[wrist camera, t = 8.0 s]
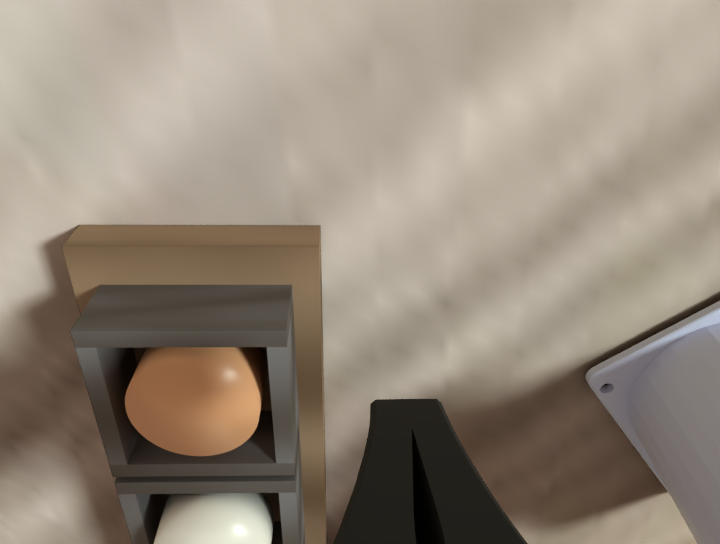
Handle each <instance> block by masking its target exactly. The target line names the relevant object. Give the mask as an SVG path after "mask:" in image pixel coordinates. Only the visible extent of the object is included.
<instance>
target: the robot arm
mask: <svg viewBox="0 0 720 544" xmlns="http://www.w3.org/2000/svg"><path fill="white" fill-rule="evenodd" d="M585 378H586V380H587V382H588V384H589V386H590V388H591V389H592V390H593V392H594V393H595V394H596V396H597V397H598V398H599V400H600V401H601V402H602V404H603V405H604V406H605V408H606V409H607V411H608V412H609V413H610V415H611V416H612V417H613V419H614V420H615V421H616V423H617V424H618V425H619V427H620V428H621V429H622V431H623V432H624V433H625V435H626V436H627V437H628V439H629V440H630V442H631V443H632V444H633V446H634V447H635V448H636V450H637V451H638V452H639V454H640V455H641V456H642V458H643V459H644V460H645V462H646V463H647V464H648V466H649V467H650V468H651V470H652V471H653V473H654V474H655V475H656V477H657V478H658V479H659V481H660V482H661V483H662V485H663V486H664V487H665V489H666V490H667V491H668V493H669V494H670V495H671V497H672V499H673V500H674V502H675V504H676V506H677V508H678V509H679V511H680V513H681V515H682V517H683V518H684V520H685V522H686V524H687V526H688V527H689V529H690V531H691V533H692V535H693V536H694V538H695V540H696V542H697V544H720V301H718V302H716V303H714V304H712V305H710V306H708V307H707V308H705V309H703V310H701V311H699V312H697V313H695V314H693V315H691V316H689V317H687V318H686V319H684V320H682V321H680V322H678V323H676V324H674V325H672V326H670V327H668V328H667V329H665V330H663V331H661V332H659V333H657V334H655V335H653V336H651V337H649V338H647V339H646V340H644V341H642V342H640V343H638V344H636V345H634V346H632V347H630V348H628V349H626V350H625V351H623V352H621V353H619V354H617V355H615V356H613V357H611V358H609V359H607V360H605V361H604V362H602V363H600V364H598V365H596V366H594V367H592V368H591V369H590V370H588V372H587V373H586V377H585ZM607 383H609V384H608V385H606V386H603V385H604V384H607ZM601 386H603V387H601ZM333 544H527V542H526V541H525V540H524V539H523V537H522V536H521V535H520V533H519V532H518V531H517V529H516V528H515V527H514V525H513V524H512V522H511V521H510V520H509V518H508V517H507V515H506V514H505V513H504V511H503V510H502V508H501V507H500V505H499V504H498V503H497V501H496V500H495V498H494V497H493V495H492V494H491V492H490V491H489V489H488V487H487V486H486V484H485V483H484V481H483V479H482V478H481V476H480V475H479V473H478V471H477V470H476V468H475V467H474V465H473V463H472V462H471V460H470V458H469V457H468V455H467V453H466V451H465V450H464V448H463V446H462V444H461V442H460V441H459V439H458V437H457V435H456V433H455V431H454V429H453V427H452V425H451V423H450V421H449V419H448V417H447V415H446V413H445V411H444V408H443V406H442V403H441V402H439V401H438V400H437V399H389V400H375V401H374V402H373V403H371V409H370V426H369V433H368V438H367V443H366V447H365V452H364V456H363V459H362V463H361V466H360V470H359V473H358V477H357V480H356V484H355V487H354V490H353V493H352V496H351V498H350V501H349V504H348V507H347V509H346V512H345V515H344V518H343V520H342V523H341V526H340V528H339V531H338V533H337V535H336V538H335V540H334V543H333Z"/></svg>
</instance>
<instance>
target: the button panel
mask: <svg viewBox="0 0 720 544" xmlns="http://www.w3.org/2000/svg"><path fill="white" fill-rule="evenodd" d="M62 250H63V254H64V257H65V261H66V265H67V268H68V272H69V275H70V279H71V283H72V286H73V290H74V293H75V297H76V301H77V304H78V308H79V312H80V317H79V318H78V320H77V322H76V323H75V325H74V326H73V328H72V329H71V331H70V332H71V336H72V339H73V342H74V346H75V349H76V353H77V356H78V359H79V363H80V366H81V370H82V373H83V377H84V380H85V383H86V387H87V390H88V394H89V397H90V400H91V404H92V407H93V411H94V414H95V418H96V421H97V424H98V428H99V431H100V435H101V438H102V441H103V445H104V448H105V452H106V455H107V458H108V462H109V465H110V469H111V472H112V476H113V477H117V478H116V481H115V486H116V489H117V493H118V496H119V499H120V503H121V506H122V510H123V513H124V517H125V520H126V523H127V527H128V530H129V534H130V537H131V540H132V544H154V540H155V537H156V533H157V530H158V527H159V523H160V520H161V517H162V513H163V510H164V507H165V503H166V501H167V499H168V497H169V496H170V494H199V493H262V494H263V495H264V496H265V497H266V498H267V499H268V500H269V502H270V503H271V505H272V507H273V511H274V524H273V533H272V542H271V544H327V518H326V471H325V423H324V375H323V327H322V279H321V231H320V226H265V225H79V226H78V228H77V229H76V230H75V231H74V232H73V234H72V235H71V236H70V237H69V238H68V240H67V241H66V242H65V243H64V244H63V246H62ZM146 347H258V348H259V349H260V351H261V353H262V355H263V357H264V360H265V363H266V380H265V386H264V392H263V398H262V404H261V410H260V416H259V422H258V425H257V428H256V429H255V431H254V433H253V434H252V435H251V437H250V438H249V439H248V440H247V441H246V442H245V443H243V444H242V445H240V446H239V447H237V448H235V449H233V450H231V451H228V452H225V453H222V454H218V455H212V456H189V455H182V454H178V453H174V452H171V451H168V450H165V449H163V448H161V447H159V446H157V445H155V444H153V443H152V442H150V441H148V440H147V439H146V438H145V437H143V436H142V435H141V434H140V433H139V432H138V431H137V430H136V429H135V427H134V426H133V425H132V423H131V421H130V420H129V418H128V415H127V412H126V408H125V395H126V391H127V389H128V386H129V384H130V382H131V379H132V377H133V375H134V373H135V370H136V368H137V366H138V364H139V361H140V359H141V357H142V355H143V352H144V350H145V348H146Z"/></svg>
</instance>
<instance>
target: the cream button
mask: <svg viewBox="0 0 720 544" xmlns="http://www.w3.org/2000/svg"><path fill="white" fill-rule="evenodd" d="M273 524H274V511H273V507H272V505H271V503H270V502H269V500H268V499H267V498H266V497H265V496H264V495H263V494H262V493H199V494H170V496H169V497H168V499H167V501H166V503H165V507H164V510H163V513H162V517H161V520H160V523H159V527H158V530H157V533H156V537H155V540H154V544H271V542H272V533H273Z"/></svg>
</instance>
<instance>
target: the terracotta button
mask: <svg viewBox="0 0 720 544" xmlns="http://www.w3.org/2000/svg"><path fill="white" fill-rule="evenodd" d="M265 380H266V363H265V360H264V357H263V355H262V353H261V351H260V349H259V348H258V347H146V348H145V350H144V352H143V355H142V357H141V359H140V361H139V364H138V366H137V368H136V370H135V373H134V375H133V377H132V379H131V382H130V384H129V386H128V389H127V391H126V395H125V408H126V412H127V415H128V418H129V420H130V421H131V423H132V425H133V426H134V427H135V429H136V430H137V431H138V432H139V433H140V434H141V435H142V436H143V437H145V438H146V439H147V440H148V441H150V442H152V443H153V444H155V445H157V446H159V447H161V448H163V449H165V450H168V451H171V452H174V453H178V454H182V455H189V456H212V455H218V454H222V453H225V452H228V451H231V450H233V449H235V448H237V447H239V446H240V445H242V444H243V443H245V442H246V441H247V440H248V439H249V438H250V437H251V435H252V434H253V433H254V431H255V429H256V428H257V425H258V422H259V416H260V410H261V404H262V398H263V392H264V386H265Z"/></svg>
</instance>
